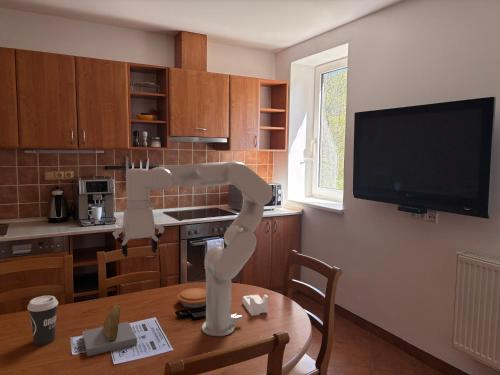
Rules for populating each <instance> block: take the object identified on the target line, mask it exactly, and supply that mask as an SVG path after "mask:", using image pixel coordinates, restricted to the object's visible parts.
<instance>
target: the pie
mask: <svg viewBox="0 0 500 375" xmlns="http://www.w3.org/2000/svg"><path fill="white" fill-rule="evenodd" d="M176 297H177V299H178V300H179V302H180V304H181V305H182V306H183V307H186V308H189V309H199V308H202V307H206V288H201V287H193V288H192V287H191V288H187V289H184V290H183V291H182V290H181V292H179V293H178V294H177V296H176Z"/></svg>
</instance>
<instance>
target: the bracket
mask: <svg viewBox="0 0 500 375" xmlns="http://www.w3.org/2000/svg"><path fill="white" fill-rule="evenodd" d="M242 304H243V306H244V307H245V308H246V310H247V312H248V313H249V314H250V316H251V317H252V316H259V315H260V314H264V313H268V311H269V296H268V295H267V294H263V297H261V296H260V295H259V294H250V295H244V296H242Z"/></svg>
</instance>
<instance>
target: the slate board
mask: <svg viewBox="0 0 500 375" xmlns="http://www.w3.org/2000/svg"><path fill="white" fill-rule="evenodd" d="M103 328H104V326H100V327H96V328H90V329H86V330H82V340H83V345H84V348H85V351H86V357H91V356H95V355H99V354H103V353H107V352H111V351H115V350H119V349H123V348H128V347H132V346H136V345H138V338H137V335H136V334H135V332H134V330H133V328H132V327H131V324H130V323H129V321H125V322H119V325H118V333H117V338H116V340H108V337H106V335H104V333H103Z"/></svg>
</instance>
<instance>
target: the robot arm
mask: <svg viewBox="0 0 500 375" xmlns="http://www.w3.org/2000/svg"><path fill="white" fill-rule="evenodd" d="M125 183H126V184H125V188H126V190H125V192H126V208H125V209H124V210H123V218H122V227H119V228H117V230H115V231H113V232H112V235H113V237H114V238H115V240H116V241H117V242H118V243H119V244H120V245H121V253H122V255H123V256H124V257H125V258H126V257H128V245H127V243H128V242H129V240H136V239H145V238H150V237H151V240H150V241H151V243H150V245H151V251H152V252H153V253H154V254H156V253H157V250H158V241H159V239H160V238H161V237H162V235H163V233H164V231H165V227H163V226H161V225H159V224H156V223H155V217H154V212H153V208H152V207H151V206H152V205H154V204H155V201H154V200H151V198H150V194H151V193H150V190H153V191H154V190H155V191H165V190H168V189H169V188H170V187H176V186H188V187H194V188H205V187H206V188H207V187H215V186H225V185H226V186H228V185H231V186H234V187H235V188H236V189H238V191H240V192H241V196H242V200H243V201H242V204H243V205H242V208H241V210H240V211H239V213H238V214H237V216H236V217H235V219H234V220H233V221H232V223H231V224H230V225H229V227H228V228H227V229H226V230H225V232H224V234H223V240H224V244H226V247H225V248H224V247H222V246H213V247H210V249H209V250H208V251H207V252H206V253H205V254H206V255H205V257H204V270H205V271H204V272H205V289H206V305H205V321H204V322H203V324H202V325H201V331H202V333H204V334H206V335H208V336H210V337H211V336H212V337H224V336H228V335H230V334H232V333H233V332H234V331H235V329H236V325H235V323H236V322H240V321H242V320H243V318H244V317H243V315H242V314H241V315H237V313H234V314H232V280H233V279H234V278H235V277H236V276H237V275H238V274H239V273H240V271H241V270H242V269H243V267H244V266H245V265H246V263H247V262H248V260H249V259H250V258H251V257H252V255H253V253H255V251H256V248H257V243H258V241H257V237H256V235H255V233H254V232H255V231H256V229H257V228H258V226H259V225H260V223H261V221H262V219H263V217H264V212H265V211H264V210H265V205H268V203H270V201H272V199H273V195H274V193H273V188H272V187H271V186H270V184H269V183H268V182H267V181H266V180H265V179H263V178H262V177H261V176H259V175H258V174H257V173H256V172H255V171H254V170H253V169H252V168H250V167H249V166H248V165H246V164H245V163H244V162H239V161H233V160H231V161H218V162H217V161H216V162H202V163H191V164H181V165H178V164H177V165H164V166H163V165H162V166H156V167H153V168H151V169H146V168H129V169H128V170H126V172H125ZM156 229H157V230H158V232H157V233H156V232H155V231H156ZM121 233H122V235H123V238H121V237H120V236H119V235H120V234H121Z"/></svg>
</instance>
